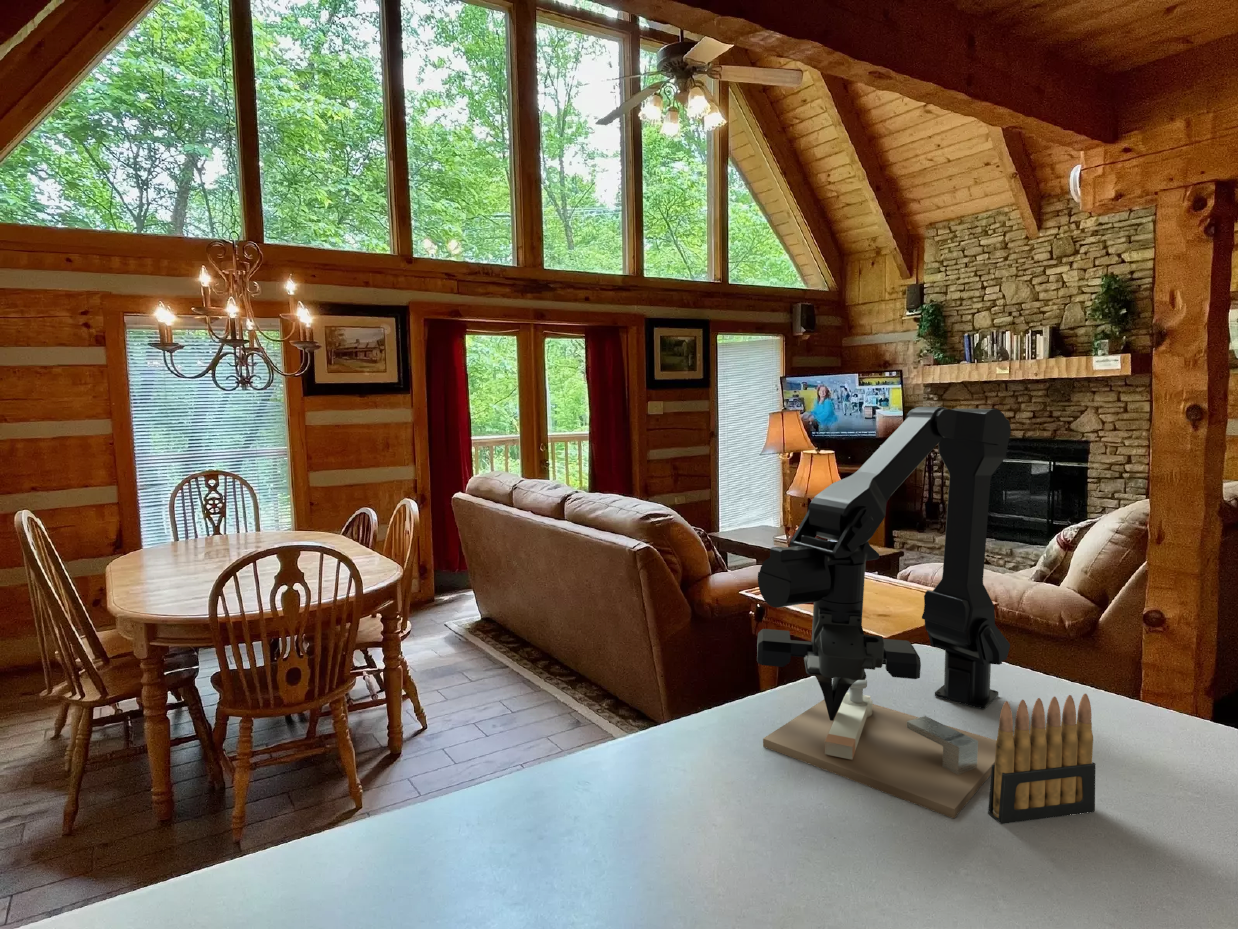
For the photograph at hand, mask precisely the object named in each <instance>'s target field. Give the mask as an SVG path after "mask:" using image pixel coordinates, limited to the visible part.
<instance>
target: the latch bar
mask: <svg viewBox="0 0 1238 929" xmlns="http://www.w3.org/2000/svg"><path fill="white" fill-rule="evenodd" d="M866 688H868V680H867V678H866V679H865V680H857V681H856V682H854V683H853V684H852V685H851V687H850V688H849V691H847V693H846V694H845V696H844V699H843V701H842V703H841V705H840V708H839V711H838V713H837V715H836V718H835V720H834V722H833V724H832V727H831V729H830V731H829V734H828V735H827V738H826V740H825V754H826V755H831V756H836V757H841V758H846V759H851V760H853V757H854V754H855V750H856V747H857V744H858V741H859V738H860V736H861V733H862V730H863V727H864V724H865V721H866V718H867V717H869V716H871V715H872V705H873V704H874V703H873V700H872V698H871V695H867V694H864V693H863V692H864V689H866Z"/></svg>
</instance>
